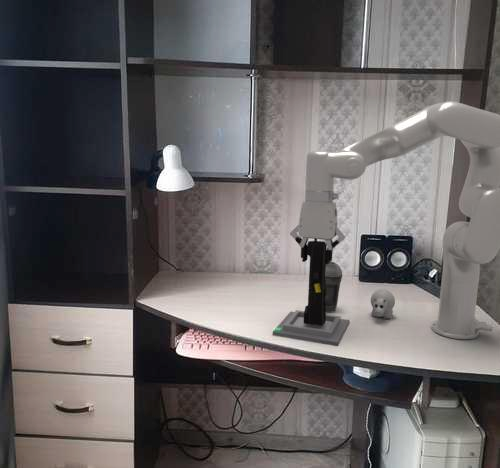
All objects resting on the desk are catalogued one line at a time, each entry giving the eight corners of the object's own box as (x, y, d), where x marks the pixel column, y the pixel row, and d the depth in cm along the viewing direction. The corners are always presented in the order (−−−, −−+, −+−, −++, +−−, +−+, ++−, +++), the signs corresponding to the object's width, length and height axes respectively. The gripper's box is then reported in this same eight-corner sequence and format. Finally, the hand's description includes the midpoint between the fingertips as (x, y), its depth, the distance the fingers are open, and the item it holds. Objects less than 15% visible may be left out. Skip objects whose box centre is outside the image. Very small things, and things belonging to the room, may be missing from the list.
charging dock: (349, 323, 146) (349, 315, 145) (337, 346, 129) (338, 337, 129) (290, 314, 152) (290, 306, 151) (272, 335, 135) (272, 326, 135)
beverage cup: (322, 314, 152) (326, 251, 149) (313, 307, 159) (316, 246, 156) (344, 313, 154) (348, 250, 151) (334, 305, 161) (337, 245, 157)
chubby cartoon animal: (363, 322, 147) (365, 295, 145) (372, 310, 157) (374, 285, 156) (388, 327, 144) (390, 299, 142) (395, 314, 154) (397, 288, 153)
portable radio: (325, 327, 136) (329, 238, 131) (303, 325, 137) (307, 237, 132) (325, 317, 143) (330, 233, 139) (305, 315, 144) (308, 231, 140)
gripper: (353, 197, 134) (349, 262, 137) (292, 194, 140) (290, 256, 143) (348, 200, 127) (344, 268, 130) (284, 196, 133) (282, 261, 136)
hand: (316, 261), depth 137 cm, fingers closed on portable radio, 5 cm apart
